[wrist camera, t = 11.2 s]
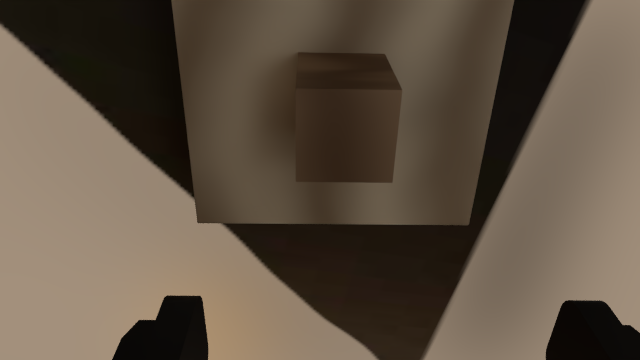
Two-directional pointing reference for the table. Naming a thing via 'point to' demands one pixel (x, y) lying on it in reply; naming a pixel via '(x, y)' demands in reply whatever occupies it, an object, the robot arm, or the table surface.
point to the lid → (338, 107)
